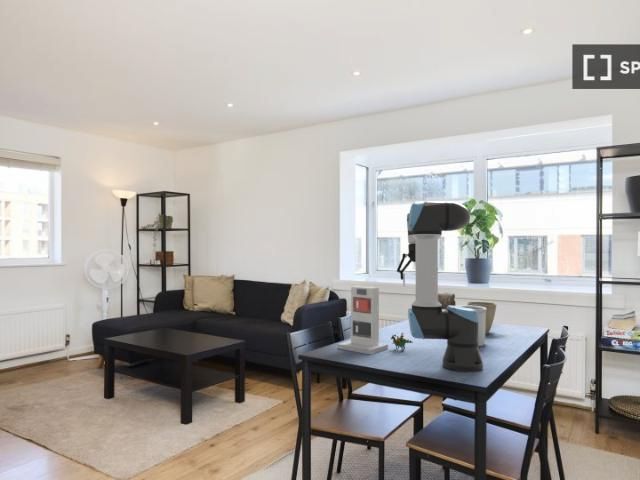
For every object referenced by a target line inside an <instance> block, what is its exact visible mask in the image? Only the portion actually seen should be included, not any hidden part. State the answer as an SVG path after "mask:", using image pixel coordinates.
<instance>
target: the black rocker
mask: <svg viewBox="0 0 640 480" xmlns="http://www.w3.org/2000/svg"><path fill="white" fill-rule="evenodd" d="M353 334H357V335H367V336H370V335H371V324H363V323H353Z"/></svg>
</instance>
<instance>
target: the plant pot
mask: <svg viewBox="0 0 640 480" xmlns="http://www.w3.org/2000/svg"><path fill="white" fill-rule="evenodd" d="M467 305H473V306H481V307H485V308H486V323H485V335H487V334H489V333H490V331H491V328H492V326H493V323H494V320H495V314H496V309H497V303H493V302H485V301H468V302H467Z"/></svg>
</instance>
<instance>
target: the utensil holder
mask: <svg viewBox="0 0 640 480" xmlns="http://www.w3.org/2000/svg"><path fill="white" fill-rule="evenodd" d="M457 306H460V307H466V308H470V309H473V310H475V311H476V312H477V313H478V321H479V323H478V347H482V346H484V345H486V344H485V343H486V334H485V323H486V308H485V307H481V306H473V305H468V304H465V305H464V304H463V305H462V304H460V305H457Z"/></svg>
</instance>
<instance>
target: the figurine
mask: <svg viewBox="0 0 640 480" xmlns="http://www.w3.org/2000/svg"><path fill="white" fill-rule="evenodd" d="M390 340H392V342H391V344H392V345H393V344H394V345H395V349H394V350H395V351H396V350H398V349H399V348H401V349H400V350H399V352H403V351H404V352H405V349H406V344H413V343H414V342H413V341H412V340H409V339H408V338H404V332H401V334H400V336H399V335H397V334H396V333H395V334H392V335H391V338H390Z"/></svg>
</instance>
